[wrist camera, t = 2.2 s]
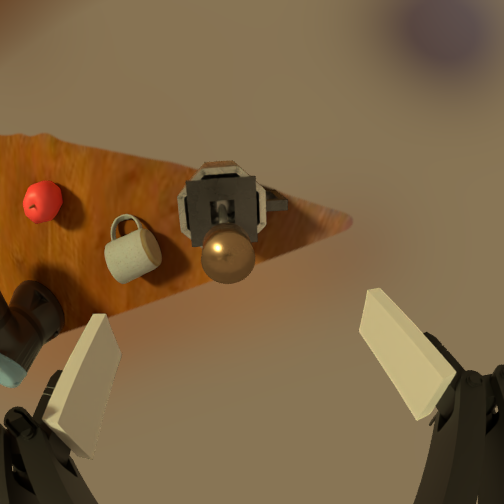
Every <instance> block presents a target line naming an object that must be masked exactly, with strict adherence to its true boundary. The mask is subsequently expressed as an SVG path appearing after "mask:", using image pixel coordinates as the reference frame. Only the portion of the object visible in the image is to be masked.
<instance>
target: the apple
mask: <svg viewBox="0 0 504 504" xmlns="http://www.w3.org/2000/svg"><path fill="white" fill-rule="evenodd" d="M62 203H63V200H62V194H61V189H60V188H59V187H58V186H57V185H56V184H54V183H53V182H52V181H41V182H38V183H35V184H32V185H31V186H30V187H29V188H28V190H27V193H26V195H25V198H24V201H23V206H24V211H25V215H26V216H27V217H28V218H30V219H31V220H32V221H33V222H34V223H36V224H38V223H42V222H46V221H50V220H52V219H53V218H54V217H55V216H56V215H57V214H58V212H59V209H60V207H61V205H62Z"/></svg>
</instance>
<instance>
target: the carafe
mask: <svg viewBox="0 0 504 504" xmlns="http://www.w3.org/2000/svg"><path fill="white" fill-rule="evenodd" d="M177 199H178V209H179V218H180V226H181V232H182V233H183V234H185V235H186V236H187V237H189V238H190V239H191V241H192V247H199V246H200V247H201V248H202V247H203V240H204V237H205V235H206V233H207V232H208V231H209V230H210V229H211V228H212V227H213V226H215V225H217V224H219V223H211V211H210V201H222V200H234V212H235V221H233V222H229V223H233V224H236V225H239V226H240V227H242V228H243V229H244V230H245V231H246V233H247V234H248V236H249V239H250V241H251V242H258V237H257V234H258V233H259V232H260V231H261V230H262V229H263V228H264V227H265V226H266V211H281V210H288V200H287V199H286V198H285V197H284V196H282V195H281V194H280V193H279V192H277V191H276V190H265V189H264V188H263V187H262V186H261V185H260V184H258V183H257V182H256V178H255V176H250V175H249V174H247V173H246V172H245V171H244V170H243V169H242V168H241V167H239V166H238V165H237V164H236V163H235V162H234V161H216V162H205V163H204V164H203V165H202V166H201V167H200V168H199V170H198V171H197V172H196V173H195V174H194V175H193V177H192V178H191V179H190V180H188V181H186V185H185V186H184V188H183V189H182V191H181V192H180V194H179V195H178V196H177Z"/></svg>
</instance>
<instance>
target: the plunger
mask: <svg viewBox="0 0 504 504" xmlns="http://www.w3.org/2000/svg"><path fill="white" fill-rule="evenodd" d="M210 211H211V223H219V224H217V225H215V226H213V227H212V228H211V229H210V230H209V231H208V232H207V233H206V235H205V237H204V240H203V247H202V257H201V262H202V267H203V269H204V271H205V273H206V274H207V275H208V276H209V277H210V278H211V279H213V280H214V281H216V282H219V283H223V284H232V283H236V282H239V281H241V280H243V279H244V278H246V277H247V276H248V275H249V274H250V273H251V271H252V269H253V267H254V264H255V253H254V250H253V247H252V244H251V241H250V239H249V236H248V234H247V233H246V231H245V230H244V229H243V228H242V227H240V226H239V225H236V224H233V223H229V222H233V221H235V212H234V200H222V201H210Z"/></svg>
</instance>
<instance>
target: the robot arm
mask: <svg viewBox="0 0 504 504" xmlns="http://www.w3.org/2000/svg"><path fill="white" fill-rule="evenodd" d="M63 326H64V314H63V311H62V308H61V306H60V304H59V302H58V300H57V299H56V297H55V296H54V295H53V294H52V293H51V292H50V291H49V290H48V289H47V288H46V287H45V286H43V285H42V284H40V283H38V282H36V281H32V280H27V281H24V282H22V283H21V284H20V285H19V286H18V287H17V288H16V289H15V291H14V293H13V296H12V299H11V301H10V304H9V306H8V305H7V303H6V301H5V299H4V297H3V295H2V293H1V291H0V384H1V385H3V386H6V387H10V388H15V387H17V386H19V385H20V383H21V382H22V380H23V379H24V377H26V375H27V372H28V370H29V368H30V367H31V365H32V363H33V361H34V359H35V358H36V356H37V354H38V353H39V351H40V349H41V348H42V346H43V345H44V344H46V343H47V342H49V341H50V340H52V339H53V338H55V337H56V336H57V335H58V334H59V333H60V331H61V330H62V328H63ZM359 333H360V334H361V335H362V337H363V338H364V340H365V341H366V343H367V344H368V346H369V347H370V349H371V350H372V352H373V353H374V355H375V356H376V358H377V359H378V361H379V362H380V364H381V365H382V367H383V368H384V370H385V371H386V373H387V374H388V376H389V377H390V379H391V381H392V382H393V384H394V385H395V387H396V388H397V390H398V392H399V393H400V395H401V396H402V398H403V400H404V401H405V403H406V404H407V406H408V408H409V409H410V411H411V412H412V414H413V416H414V417H415V419H416V421H417V420H420V419H421V418H424V417H426V416H428V415H429V414H430V413H431V412H432V411H433V409H434V408H435V406H436V408H437V409H438V412H437V414H436V415H435V416H434V417H433V419H432V420H431V422H430V424H429V426H431V425H432V423H433V422H434V421H435V424H434V430H433V435H432V440H431V444H430V449H429V454H428V457H427V462H426V465H425V469H424V473H423V476H422V480H421V483H420V486H419V489H418V492H417V495H416V498H415V501H414V504H476V501H477V496H478V504H504V365H499V366H497V368H496V369H495V370H494V372H493V374H489V375H484V376H482V375H480V374H479V373H478V372H476V371H472V370H468V371H465V370H464V369H463V368H462V366H461V365H460V364H459V363H458V362H457V361H456V359H455V358H454V357H453V356H452V355H451V354H450V353H449V352H448V351H447V349H446V348H445V347H444V346H442V344H441V343H440V342H439V341H438V339H437V338H436V337H434V336H433V335H431V334H429V333H428V332H425V333H422V332H421V331H420V330H419V329H418V328H417V326H416V325H415V324H414V323H413V322H412V321H411V320H410V319H409V318H408V317H407V316H406V315H405V314H404V312H402V310H400V308H399V307H398V306H397V305H396V304H395V303H394V302H393V301H392V300H391V299H390V298H389V297H388V296H387V295H386V294H385V293H384V292H383V291H382V290H381V289H380V288H376V289H370V290H367V295H366V301H365V306H364V311H363V316H362V320H361V325H360V329H359ZM121 356H122V354H121V352H120V349H119V347H118V344H117V342H116V339H115V337H114V334H113V331H112V329H111V326H110V323H109V321H108V318H107V315H106V314H93V315H92V317H91V319H90V320H89V322H88V324H87V326H86V328H85V329H84V331H83V333H82V335H81V337H80V338H79V340H78V342H77V344H76V346H75V348H74V350H73V352H72V354H71V356H70V358H69V360H68V362H67V364H66V366H65V368H64V370H63V371H62V370H57V371H56V372H55V373H54V374H53V375H52V376H51V378H50V380H49V382H48V384H47V388H45V390H44V392H43V395H42V397H41V399H40V401H39V403H38V406H37V408H36V410H35V413H34V415H33V417H31V415H30V414H29V413H28V412H27V411H26V410H25V409H24V408H23V407H13V408H12V409H10V410H9V411H8V412H7V413H6V415H5V418H4V425H5V426H6V427H7V429H5V428H4V427H3V426H2V425H1V424H0V504H98V503H97V501H96V500H95V498H94V496H93V495H92V493H91V492H90V490H89V488H88V487H87V485H86V483H85V481H84V480H83V478H82V476H81V475H80V473H79V471H78V469H77V467H76V465H75V463H74V461H73V459H72V458H71V457H70V456H69V455H70V451H71V450H72V451H73V452H74V453H75V454H76V455H77V456H79V457H83V458H87V459H92V460H93V457H94V452H95V448H96V444H97V439H98V435H99V431H100V427H101V423H102V419H103V416H104V412H105V408H106V405H107V401H108V398H109V394H110V391H111V388H112V384H113V381H114V378H115V374H116V371H117V368H118V365H119V362H120V359H121ZM496 406H498V410H499V411H498V412H497V413H496V412H495V408H496ZM12 466H13V471H12Z"/></svg>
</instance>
